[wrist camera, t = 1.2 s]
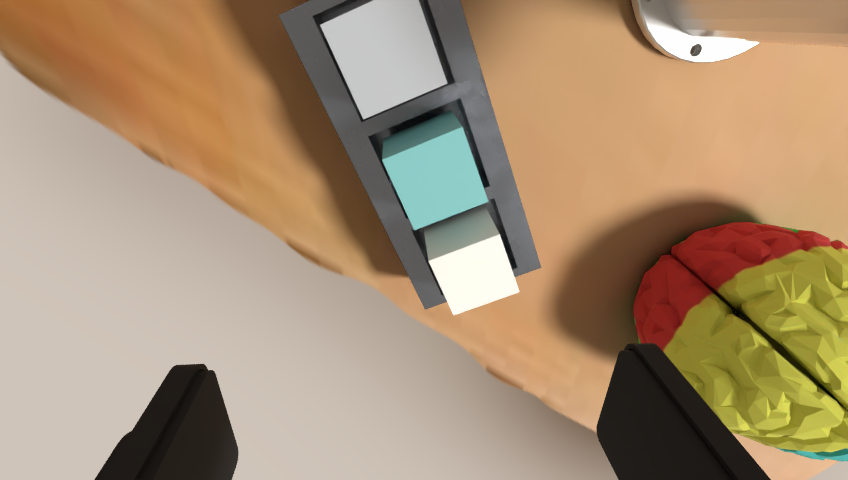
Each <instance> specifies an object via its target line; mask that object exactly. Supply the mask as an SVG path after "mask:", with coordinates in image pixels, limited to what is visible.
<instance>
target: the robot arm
mask: <svg viewBox="0 0 848 480" xmlns="http://www.w3.org/2000/svg"><path fill="white" fill-rule="evenodd" d="M632 7H633V10H634V14H635V18H636V21H637V23H638V25H639V27H640V29H641V31H642V33H643V35H644V36H645V38H646V39H647V40H648V41H649V42H650V43H651V44H652V46H653V47H654V48H656V49H657V50H659V51H660V52H661V53H663V54H664V55H666V56H668V57H671V58H674V59H677V60H679V61H685V62H692V63H711V62H716V61H721V60H726V59H728V58H731V57H733V56H736V55H738V54H741V53H743V52H745V51H747V50H748V49H750V48H752V47H753V46H755V45H757V44H758V43H760V42H764V43H782V44H800V45H818V46H836V47H848V0H632ZM690 49H691V50H690ZM597 436H598V439H599V442H600V443H601V445H602V448H603V450H604V452H605V454H606V456H607V458H608V460H609V462H610V464H611V466H612V467H613V469H614V471H615V473H616V475H617V477H618V479H619V480H771V479H770V478H769V477H768V476H767V475H766V473H765V472H764V471H763V470H762V469H761V467H760V466H759V465H758V464H757V463H756V461H755V460H754V459H753V458H752V457H751V455H750V454H749V453H748V452H747V451H746V450H745V448H744V447H743V446H742V445H741V444H740V442H739V441H738V440H737V439H736V438H735V436H734V435H733V434H732V433H731V432H730V431H729V429H728V428H727V427H726V426H725V425H724V423H723V422H722V421H721V420H720V419H719V417H718V416H717V415H716V414H715V413H714V411H713V410H712V409H711V408H710V407H709V406H708V404H707V403H706V402H705V401H704V400H703V398H702V397H701V396H700V395H699V394H698V392H697V391H696V390H695V389H694V388H693V387H692V385H691V384H690V383H689V382H688V381H687V379H686V378H685V377H684V376H683V375H682V373H681V372H680V371H679V370H678V369H677V367H676V366H675V365H674V364H673V363H672V362H671V360H670V359H669V358H668V357H667V356H666V354H665V353H664V352H663V351H662V350H661V348H660V347H659V346H657V345H656V344H654V343H640V344H628V345H627V346H626V347H625V349H624V351H620V352H619V354H618V358H617V361H616V364H615V367H614V371H613V374H612V377H611V381H610V384H609V387H608V391H607V394H606V397H605V401H604V404H603V407H602V410H601V414H600V417H599V420H598V424H597ZM237 461H238V447H237V443H236V440H235V437H234V433H233V430H232V427H231V424H230V420H229V417H228V414H227V410H226V407H225V404H224V400H223V397H222V394H221V391H220V388H219V384H218V381H217V377H216V374H215V372H214V371H213V370H208V369H207V367H206V366H205V365H204V364H192V365H176V366H174V367H173V368H172V369H171V370H170V371H169V373H168V374H167V376H166V378H165V379H164V381H163V382H162V384H161V386H160V387H159V389H158V390H157V392H156V394H155V395H154V397H153V398H152V400H151V402H150V403H149V405H148V406H147V408H146V409H145V411H144V413H143V414H142V416H141V417H140V419H139V421H138V422H137V424H136V425H135V427H134V428H133V430H132V431H131V432H129V433H128V434H126V435H125V436H124V437H123V438H122V439H121V440H120V442H119V443H118V444H117V446H116V447H115V449H114V450H113V452H112V454H111V455H110V457H109V458H108V460H107V461H106V463H105V464H104V466H103V467H102V469H101V470H100V472H99V474H98V475H97V477H96V478H95V480H232V477H233V474H234V471H235V468H236V465H237Z"/></svg>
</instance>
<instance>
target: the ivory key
mask: <svg viewBox="0 0 848 480" xmlns="http://www.w3.org/2000/svg"><path fill="white" fill-rule="evenodd" d="M423 229H424V235H425V242H426V248H427V254H428V261H429V263H430V265H431V268H432V270H433V272H434V274H435V276H436V278H437V281H438V283H439V285H440V287H441V289H442V291H443V294H444V296H445V298H446V300H447V302H448V304H449V307H450V309H451V311H452V313H453V315H456V314H459V313H462V312H465V311H468V310H470V309H473V308H476V307H479V306H482V305H484V304H487V303H490V302H493V301H496V300H498V299H501V298H504V297H507V296H510V295H512V294H515V293H518V292H520V291H519V289H518V286H517V283H516V280H515V277H514V274H513V271H512V268H511V265H510V263H509V260H508V257H507V254H506V251H505V248H504V245H503V242H502V239H501V237H500V234H499V232H498V230H497V228H496V226H495V224H494V222H493V220H492V218H491V216H490V214H489V212H488V210H487V208H486V206H485V204H484V205H482V206H479V207H476V208H474V209H471V210H469V211H466V212H463V213H461V214H458V215H456V216H453V217H450V218H448V219H445V220H443V221H440V222H438V223H435V224H432V225H430V226H427V227H425V228H423Z"/></svg>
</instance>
